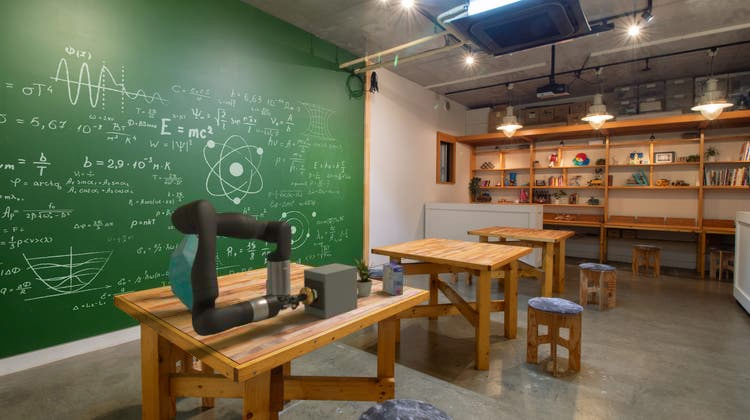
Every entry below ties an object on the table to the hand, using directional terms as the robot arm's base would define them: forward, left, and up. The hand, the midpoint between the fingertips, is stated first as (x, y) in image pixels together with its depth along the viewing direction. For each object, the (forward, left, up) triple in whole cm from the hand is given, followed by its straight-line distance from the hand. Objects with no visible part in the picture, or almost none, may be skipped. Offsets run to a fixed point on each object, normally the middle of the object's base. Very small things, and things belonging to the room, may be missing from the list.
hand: (304, 296), depth 131 cm
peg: (+5, +5, -3) cm, 8 cm away
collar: (+3, +3, -5) cm, 7 cm away
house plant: (+21, +29, -8) cm, 36 cm away
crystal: (-44, +12, -8) cm, 46 cm away
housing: (+9, +9, -8) cm, 15 cm away
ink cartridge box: (+35, +31, -8) cm, 47 cm away
